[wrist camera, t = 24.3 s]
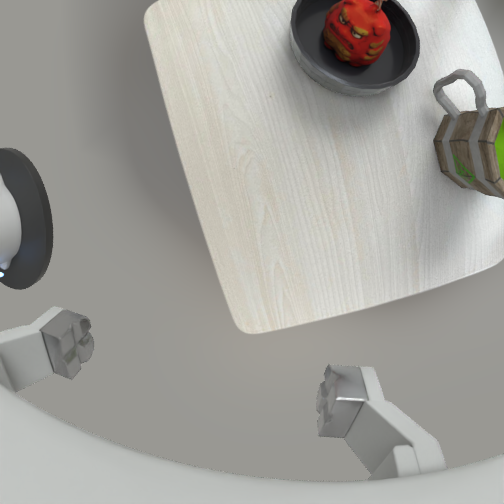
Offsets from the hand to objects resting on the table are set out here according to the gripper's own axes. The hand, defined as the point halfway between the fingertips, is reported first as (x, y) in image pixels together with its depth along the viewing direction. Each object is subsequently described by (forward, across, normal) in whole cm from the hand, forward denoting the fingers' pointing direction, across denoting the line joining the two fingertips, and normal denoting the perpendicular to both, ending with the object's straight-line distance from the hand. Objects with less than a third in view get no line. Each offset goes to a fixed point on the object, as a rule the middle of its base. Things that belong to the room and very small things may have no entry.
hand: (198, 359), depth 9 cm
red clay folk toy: (+28, -8, -22) cm, 37 cm away
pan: (+29, -8, -22) cm, 37 cm away
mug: (+29, -24, -14) cm, 40 cm away
